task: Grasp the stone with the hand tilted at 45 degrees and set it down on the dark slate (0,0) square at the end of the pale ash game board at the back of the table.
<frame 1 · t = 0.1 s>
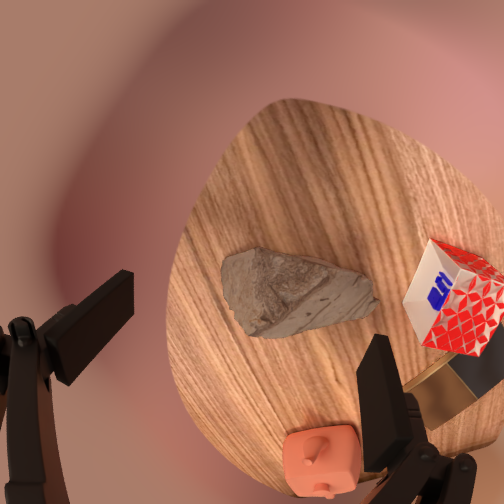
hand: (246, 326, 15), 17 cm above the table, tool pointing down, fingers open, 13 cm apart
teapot: (323, 437, 41), on the table
stone: (297, 271, 32), on the table
board: (461, 377, 33), on the table
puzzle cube: (443, 279, 29), on the table
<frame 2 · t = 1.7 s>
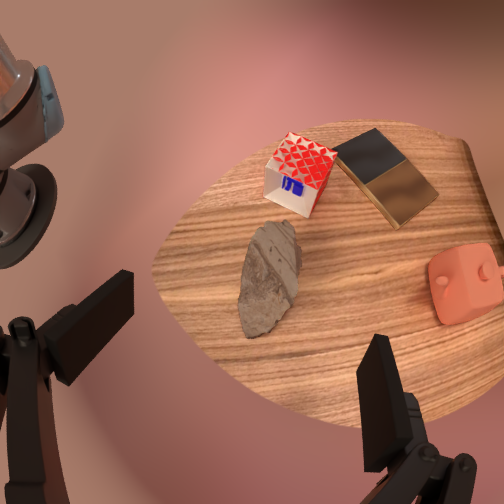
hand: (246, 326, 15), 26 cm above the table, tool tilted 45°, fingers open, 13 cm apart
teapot: (446, 292, 42), on the table
stone: (269, 287, 43), on the table
board: (385, 175, 50), on the table
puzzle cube: (295, 190, 49), on the table
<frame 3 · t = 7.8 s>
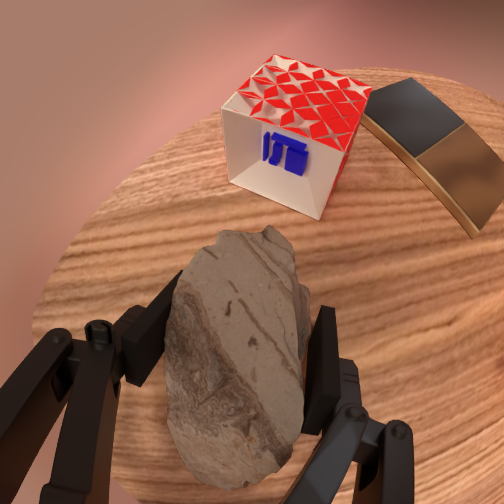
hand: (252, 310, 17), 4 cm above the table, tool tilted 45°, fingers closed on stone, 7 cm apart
stone: (240, 371, 19), on the table, touching gripper
board: (439, 145, 27), on the table
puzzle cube: (291, 167, 25), on the table
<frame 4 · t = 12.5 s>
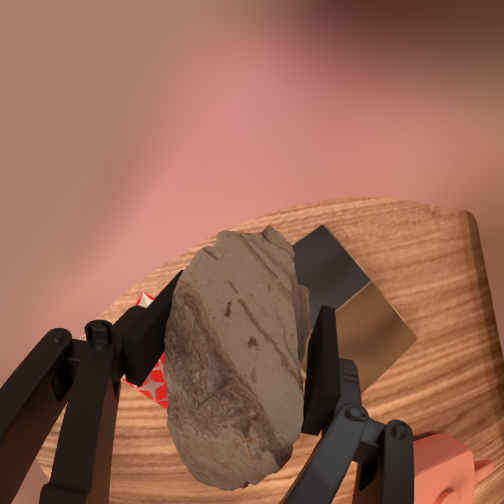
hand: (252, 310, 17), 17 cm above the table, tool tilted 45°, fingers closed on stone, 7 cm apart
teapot: (399, 481, 25), on the table
stone: (240, 372, 19), point 13 cm above the table, touching gripper
board: (329, 316, 33), on the table
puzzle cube: (178, 357, 32), on the table
when the fingers open (5 cm above the table, at t = 17.5 s): stone stays where it is, resting on board.
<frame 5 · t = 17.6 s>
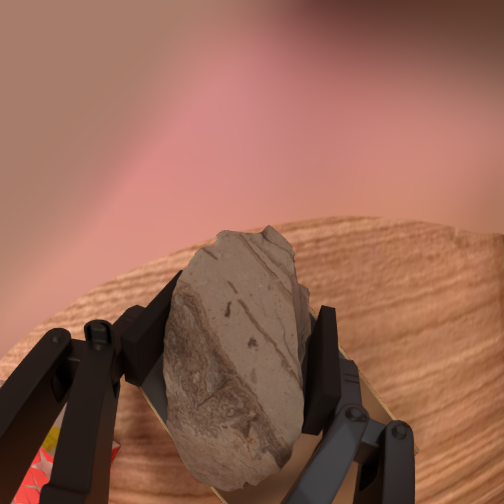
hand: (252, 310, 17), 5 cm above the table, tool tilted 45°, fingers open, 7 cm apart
stone: (240, 372, 19), point 1 cm above the table, touching board
board: (277, 422, 19), on the table
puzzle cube: (65, 448, 17), on the table
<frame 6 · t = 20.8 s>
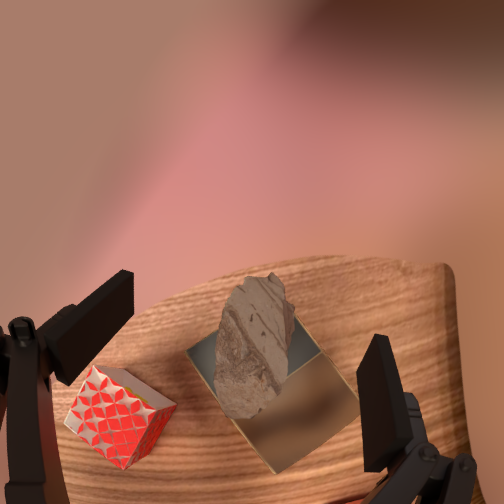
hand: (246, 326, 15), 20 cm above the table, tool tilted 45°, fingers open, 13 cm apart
stone: (254, 353, 33), point 1 cm above the table, touching board
board: (276, 384, 33), on the table
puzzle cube: (135, 412, 31), on the table
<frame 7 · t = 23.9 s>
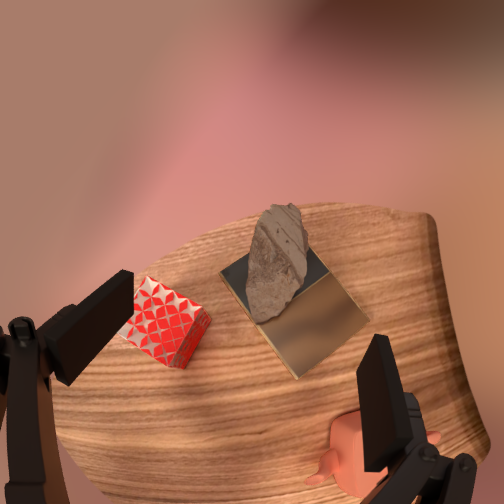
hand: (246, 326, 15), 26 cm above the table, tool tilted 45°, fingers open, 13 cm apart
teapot: (357, 446, 34), on the table
stone: (276, 272, 42), point 1 cm above the table, touching board
board: (294, 299, 42), on the table
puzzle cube: (173, 330, 41), on the table
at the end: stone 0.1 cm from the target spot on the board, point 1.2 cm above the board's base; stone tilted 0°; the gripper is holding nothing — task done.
